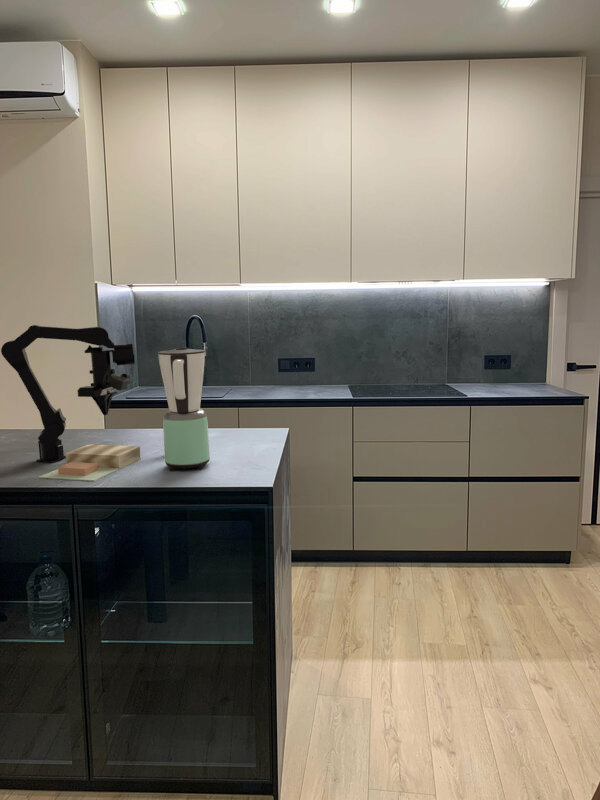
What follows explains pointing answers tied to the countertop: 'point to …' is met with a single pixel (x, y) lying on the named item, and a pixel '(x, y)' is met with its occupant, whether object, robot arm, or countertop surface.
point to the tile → (78, 468)
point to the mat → (91, 477)
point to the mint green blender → (184, 409)
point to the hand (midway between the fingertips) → (105, 414)
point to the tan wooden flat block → (105, 455)
